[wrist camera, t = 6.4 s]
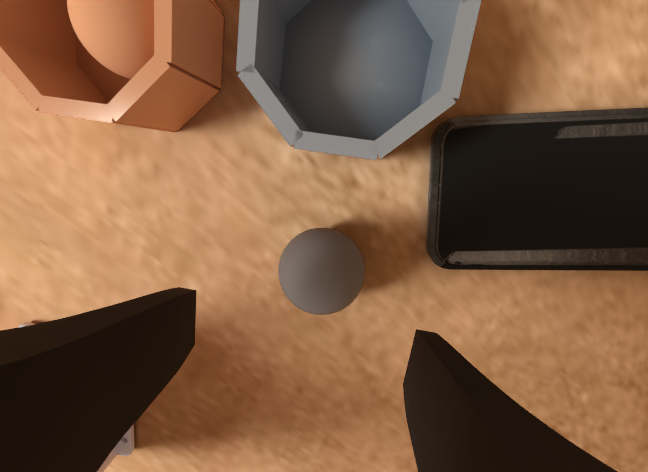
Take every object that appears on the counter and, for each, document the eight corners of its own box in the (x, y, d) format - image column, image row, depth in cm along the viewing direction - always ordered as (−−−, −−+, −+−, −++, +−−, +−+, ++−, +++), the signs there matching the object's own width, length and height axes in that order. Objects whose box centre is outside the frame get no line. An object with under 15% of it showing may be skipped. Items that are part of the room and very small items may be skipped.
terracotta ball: (180, 94, 17) (191, 84, 13) (79, 74, 15) (59, 54, 11) (182, 3, 16) (195, -36, 12) (74, -34, 14) (49, -95, 10)
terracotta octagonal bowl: (218, 138, 17) (170, 131, 13) (76, 118, 18) (-16, 104, 13) (227, -43, 15) (173, -127, 11) (64, -60, 15) (-49, -144, 11)
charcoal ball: (357, 298, 18) (357, 339, 14) (285, 285, 19) (263, 322, 14) (370, 226, 17) (373, 248, 13) (293, 214, 18) (272, 232, 13)
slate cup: (419, 166, 16) (442, 169, 12) (264, 144, 17) (231, 139, 12) (459, -21, 14) (504, -100, 10) (279, -38, 15) (247, -121, 10)
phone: (742, 271, 15) (428, 269, 17) (717, 263, 16) (423, 262, 18) (797, 97, 13) (436, 114, 15) (763, 102, 14) (430, 117, 16)
